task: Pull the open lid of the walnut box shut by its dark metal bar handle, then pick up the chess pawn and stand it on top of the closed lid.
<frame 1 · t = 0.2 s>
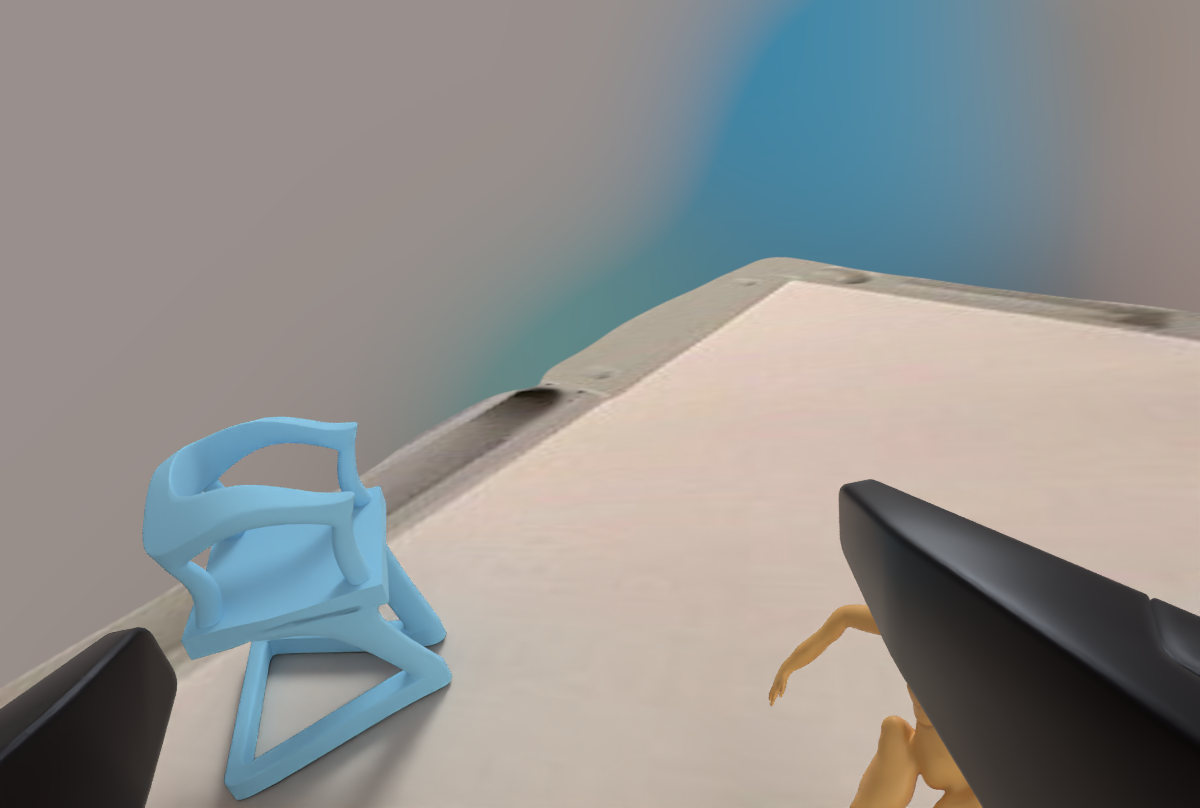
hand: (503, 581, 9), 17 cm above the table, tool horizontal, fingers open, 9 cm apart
chair: (352, 689, 30), on the table
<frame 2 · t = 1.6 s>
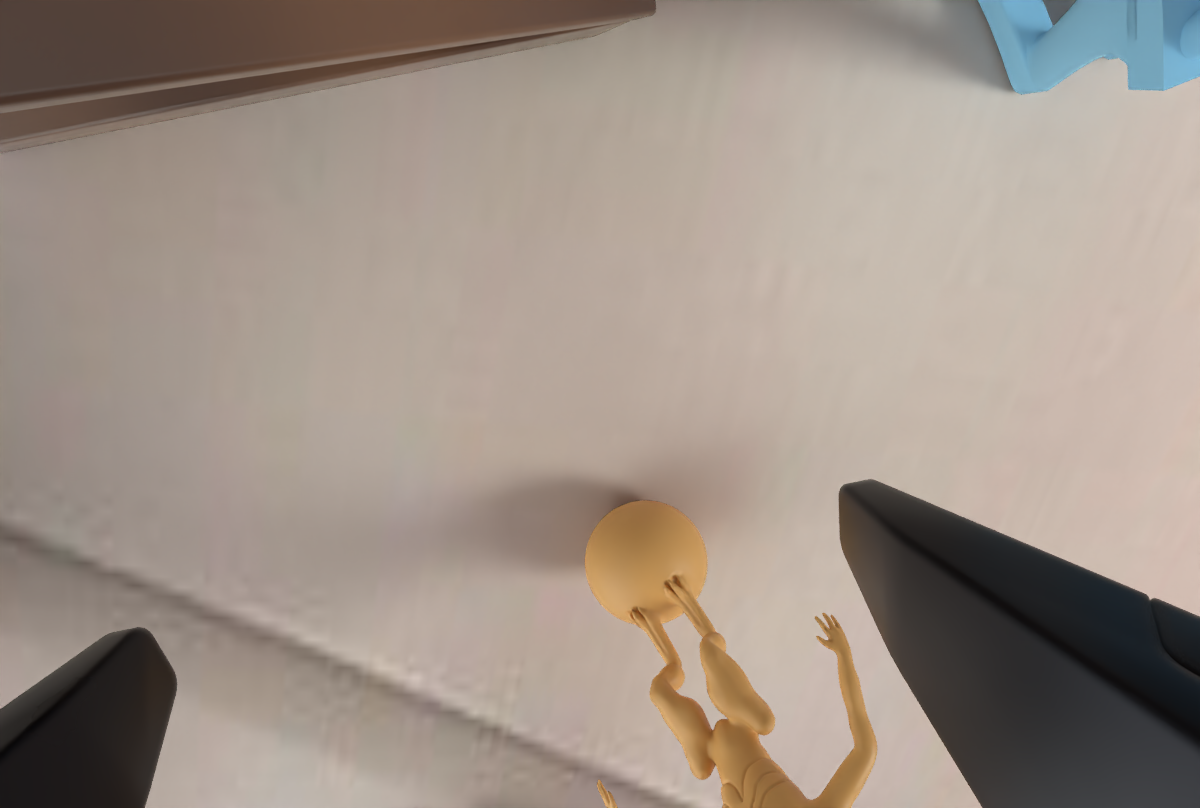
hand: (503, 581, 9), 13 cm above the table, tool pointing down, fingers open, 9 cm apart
figurine: (654, 539, 26), on the table
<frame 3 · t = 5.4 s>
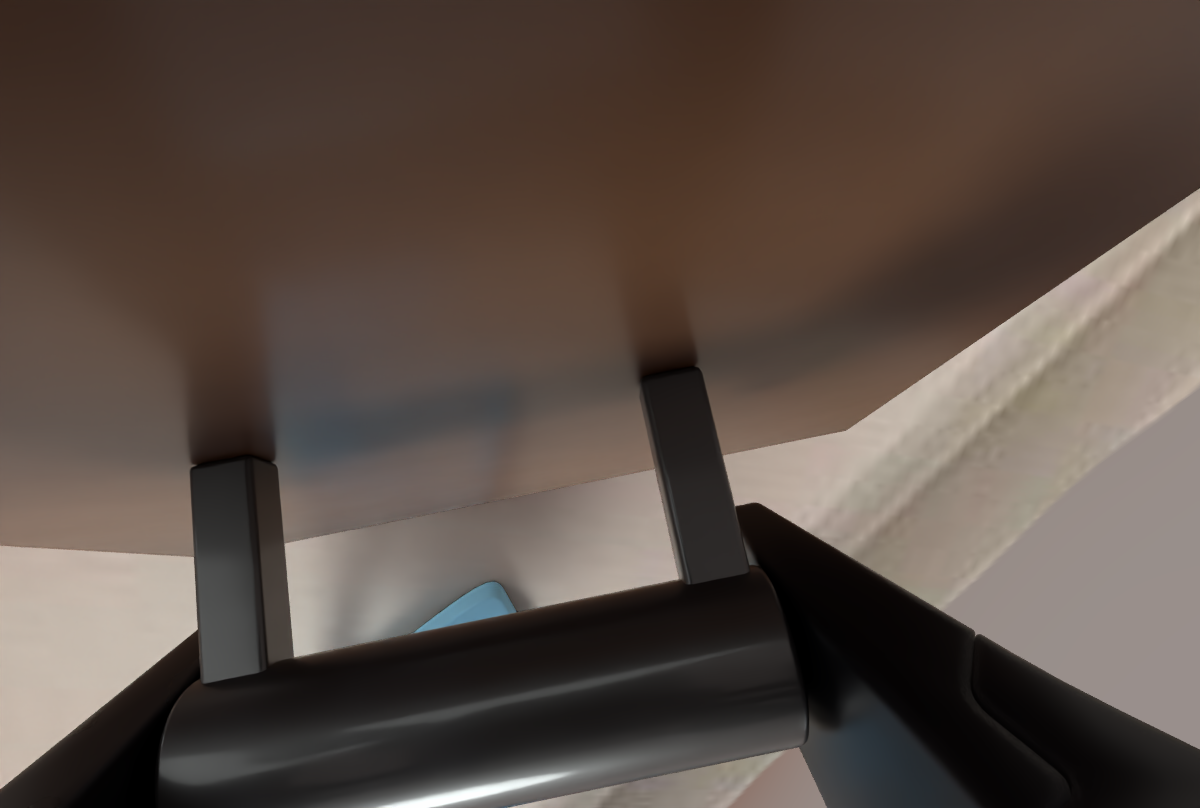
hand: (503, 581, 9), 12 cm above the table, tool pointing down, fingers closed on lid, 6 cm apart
lid: (446, 558, 7), point 14 cm above the table, hinge at 50.0°, touching gripper
chair: (438, 686, 26), on the table
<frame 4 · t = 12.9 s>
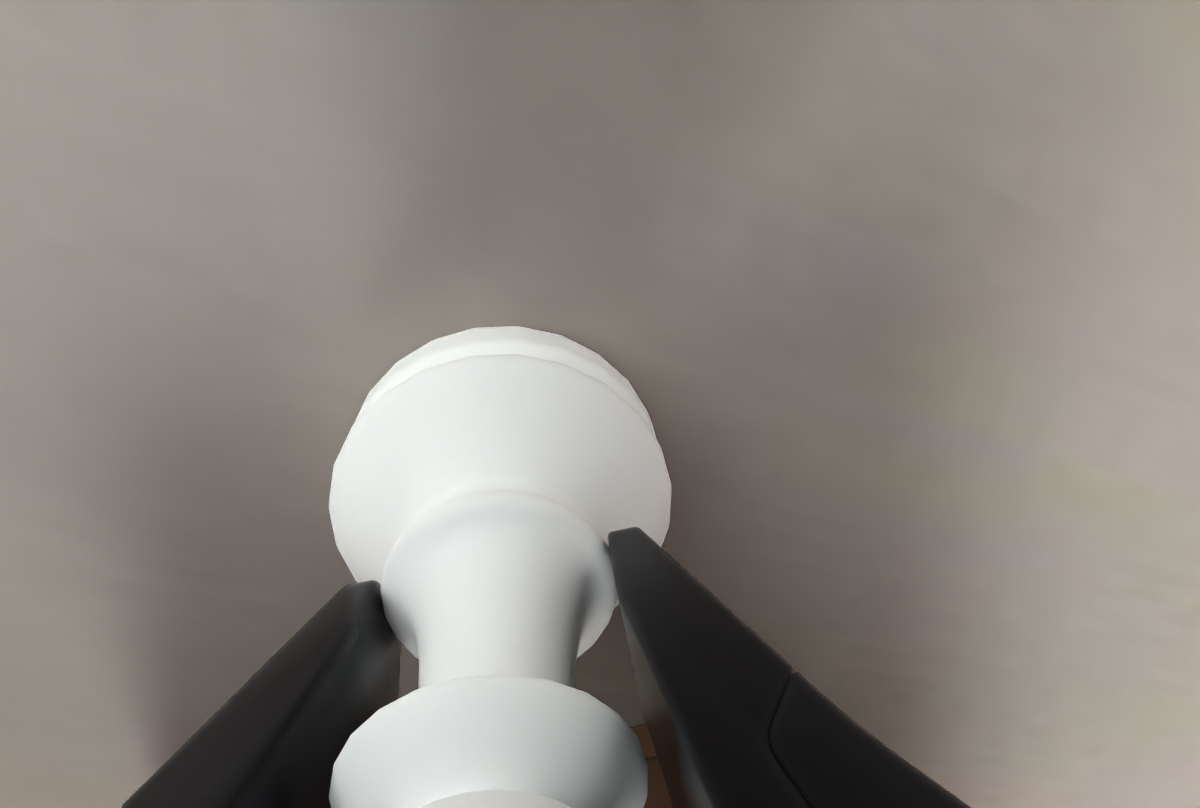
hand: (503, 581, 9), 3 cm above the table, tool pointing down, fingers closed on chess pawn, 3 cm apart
chess pawn: (507, 458, 12), on the table, touching gripper
when the fingers open (10 cm above the table, at t = 16.6 s): chess pawn stays where it is, resting on lid.
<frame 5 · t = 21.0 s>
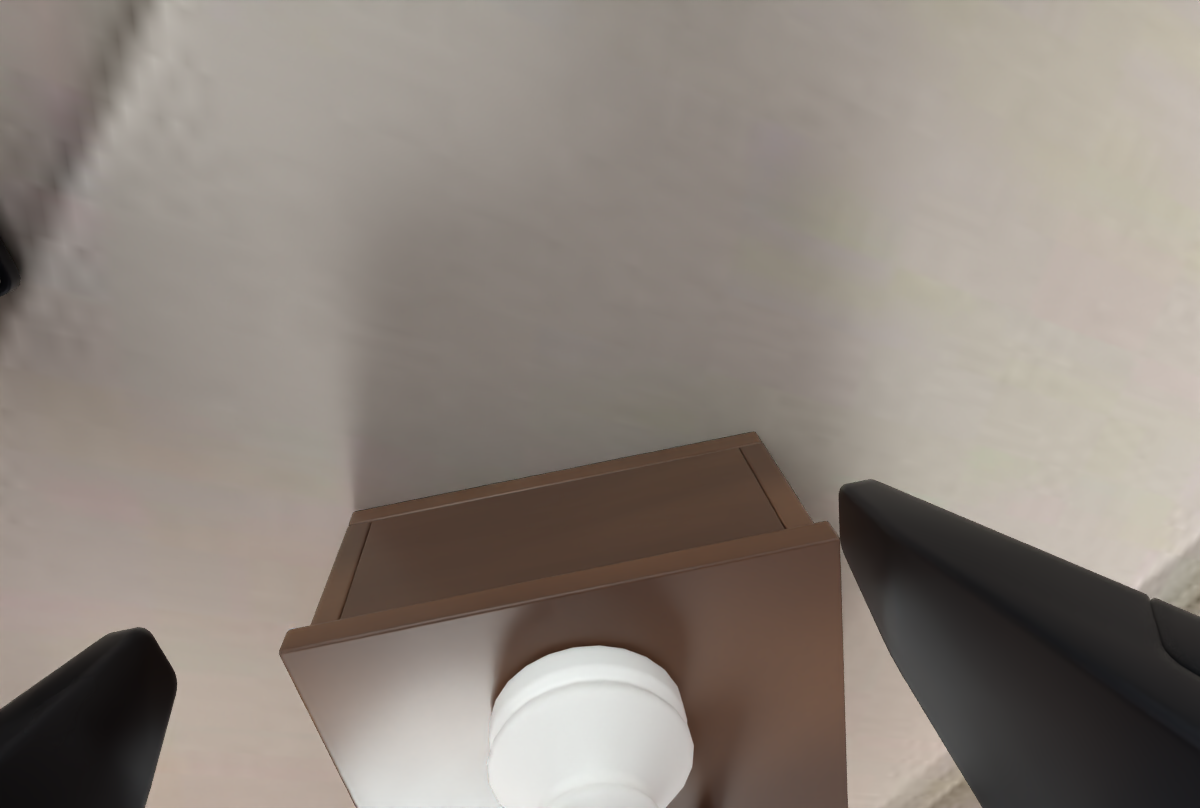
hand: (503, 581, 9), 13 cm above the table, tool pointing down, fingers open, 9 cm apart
chest: (595, 643, 27), on the table
chess pawn: (586, 708, 19), point 7 cm above the table, touching lid
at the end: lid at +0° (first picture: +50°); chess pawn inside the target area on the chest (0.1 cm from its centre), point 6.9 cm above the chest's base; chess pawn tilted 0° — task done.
